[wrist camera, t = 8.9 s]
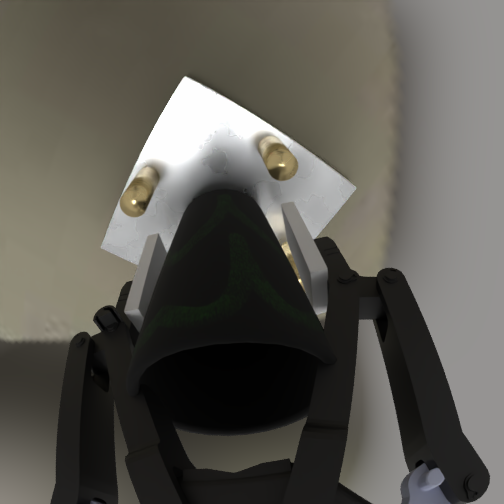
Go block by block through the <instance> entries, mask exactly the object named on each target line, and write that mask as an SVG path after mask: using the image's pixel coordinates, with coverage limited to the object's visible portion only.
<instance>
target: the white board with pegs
mask: <svg viewBox="0 0 504 504" xmlns="http://www.w3.org/2000/svg"><path fill="white" fill-rule="evenodd" d="M215 189H232V190H237V191H240V192H242V193H244V194H247V195H248V196H250V197H251V198H252V199H254V200H255V201H256V202H257V204H258V205H259V206H260V208H261V209H262V211H263V213H264V215H265V216H266V218H267V220H268V222H269V224H270V226H271V228H272V230H273V231H274V233H275V235H276V237H277V239H278V241H279V243H280V245H281V247H282V249H283V251H284V252H285V254H286V256H287V258H288V260H289V262H290V264H291V266H292V268H293V270H294V272H295V274H296V276H297V278H298V280H299V282H300V284H301V285H302V287H303V289H304V286H303V283H302V281H301V278H300V275H299V272H298V270H297V267H296V264H295V262H294V259H293V256H292V254H291V251H290V248H289V246H288V243H287V239H286V232H285V226H284V220H283V214H282V208H281V204H283V203H288V202H294V204H295V206H296V208H297V210H298V211H299V213H300V215H301V217H302V219H303V221H304V223H305V225H306V227H307V229H308V231H309V232H310V234H311V236H312V238H313V239H315V238H316V237H317V236H318V234H319V233H320V232H321V231H322V230H323V228H324V227H325V226H326V225H327V224H328V222H329V221H330V220H331V219H332V218H333V216H334V215H335V214H336V213H337V212H338V210H339V209H340V208H341V207H342V206H343V204H344V203H345V202H346V201H347V199H348V198H349V197H350V196H351V195H352V193H353V192H354V191H355V190H356V187H355V186H354V185H353V184H352V183H351V182H350V181H349V180H348V179H347V178H345V177H344V176H343V175H341V174H340V173H339V172H338V171H336V170H335V169H334V168H332V167H331V166H330V165H328V164H327V163H326V162H324V161H323V160H322V159H320V158H319V157H317V156H316V155H315V154H313V153H312V152H311V151H309V150H308V149H306V148H305V147H304V146H302V145H301V144H299V143H298V142H296V141H295V140H293V139H292V138H291V137H289V136H288V135H286V134H285V133H283V132H282V131H280V130H279V129H277V128H276V127H274V126H273V125H271V124H269V123H268V122H266V121H265V120H263V119H262V118H260V117H258V116H257V115H255V114H254V113H252V112H250V111H249V110H247V109H245V108H244V107H242V106H241V105H239V104H237V103H235V102H234V101H232V100H230V99H229V98H227V97H225V96H223V95H222V94H220V93H218V92H216V91H215V90H213V89H211V88H209V87H207V86H205V85H204V84H202V83H200V82H198V81H196V80H194V79H192V78H190V77H188V76H184V78H183V79H182V81H181V83H180V84H179V86H178V87H177V89H176V91H175V92H174V94H173V96H172V97H171V99H170V101H169V102H168V104H167V106H166V108H165V109H164V111H163V113H162V114H161V116H160V118H159V120H158V122H157V123H156V125H155V127H154V129H153V131H152V133H151V135H150V136H149V138H148V140H147V142H146V144H145V146H144V148H143V150H142V152H141V154H140V156H139V158H138V160H137V162H136V164H135V166H134V169H133V171H132V173H131V175H130V177H129V179H128V181H127V184H126V186H125V188H124V190H123V193H122V195H121V197H120V200H119V202H118V204H117V207H116V209H115V212H114V214H113V217H112V219H111V222H110V224H109V227H108V229H107V232H106V235H105V237H104V240H103V243H102V246H101V248H102V249H104V250H106V251H108V252H110V253H112V254H115V255H117V256H119V257H121V258H123V259H125V260H127V261H130V262H132V263H134V264H136V265H138V263H139V260H140V257H141V254H142V251H143V248H144V245H145V242H146V240H147V237H148V236H149V235H153V234H157V233H159V235H160V237H161V240H162V242H163V244H164V247H165V249H166V252H167V253H168V250H169V248H170V245H171V243H172V240H173V238H174V235H175V233H176V230H177V228H178V225H179V223H180V220H181V218H182V216H183V213H184V211H185V210H186V208H187V207H188V205H189V204H190V203H191V202H192V201H193V200H194V199H195V198H196V197H198V196H200V195H201V194H203V193H205V192H208V191H212V190H215ZM304 291H305V289H304Z"/></svg>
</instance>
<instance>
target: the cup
mask: <svg viewBox="0 0 504 504" xmlns="http://www.w3.org/2000/svg"><path fill="white" fill-rule="evenodd" d="M319 359H320V360H321V361H322V362H323V363H325V364H328V365H331V364H335V362H336V360H337V358H336V356H335V354H334V352H333V350H332V348H331V346H330V344H329V342H328V340H327V338H326V336H325V334H324V329H323V327H322V326H321V323H320V321H319V319H318V317H317V315H316V313H315V311H314V309H313V307H312V305H311V303H310V301H309V299H308V297H307V295H306V293H305V291H304V289H303V287H302V285H301V284H300V282H299V280H298V278H297V276H296V274H295V272H294V270H293V268H292V266H291V264H290V262H289V260H288V258H287V256H286V254H285V252H284V251H283V249H282V247H281V245H280V243H279V241H278V239H277V237H276V235H275V233H274V231H273V230H272V228H271V226H270V224H269V222H268V220H267V218H266V216H265V215H264V213H263V211H262V209H261V208H260V206H259V205H258V204H257V202H256V201H255V200H254V199H252V198H251V197H250V196H248V195H247V194H244V193H242V192H240V191H237V190H232V189H215V190H212V191H208V192H205V193H203V194H201V195H200V196H198V197H196V198H195V199H194V200H193V201H192V202H191V203H190V204H189V205H188V207H187V208H186V210H185V211H184V213H183V216H182V218H181V220H180V223H179V225H178V228H177V230H176V233H175V235H174V238H173V240H172V243H171V245H170V248H169V250H168V253H167V256H166V258H165V261H164V264H163V266H162V269H161V272H160V274H159V277H158V280H157V283H156V285H155V288H154V291H153V294H152V297H151V300H150V302H149V305H148V308H147V311H146V314H145V317H144V320H143V323H142V326H141V329H140V333H139V336H138V339H137V342H136V345H135V349H134V352H133V355H132V358H131V362H130V365H129V369H128V372H127V377H126V390H127V392H128V394H129V395H130V396H131V397H132V396H136V395H137V394H138V393H139V389H140V384H146V385H147V386H148V387H149V388H151V389H152V390H153V391H154V392H155V394H156V395H157V396H158V398H159V399H160V400H161V402H162V403H163V404H164V406H165V407H166V409H167V411H168V413H169V416H170V418H171V420H172V423H173V425H174V428H175V429H179V430H183V431H187V432H191V433H198V434H204V435H221V436H233V435H247V434H254V433H260V432H265V431H269V430H273V429H276V428H280V427H283V426H287V425H289V424H292V423H294V422H296V421H299V420H301V419H303V418H305V417H307V416H308V412H309V407H310V403H311V398H312V393H313V388H314V383H315V378H316V373H317V367H318V362H319Z"/></svg>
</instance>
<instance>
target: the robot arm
mask: <svg viewBox="0 0 504 504" xmlns="http://www.w3.org/2000/svg"><path fill="white" fill-rule="evenodd" d="M281 208H282V214H283V220H284V226H285V232H286V239H287V243H288V246H289V248H290V251H291V254H292V256H293V259H294V262H295V264H296V267H297V270H298V272H299V275H300V278H301V281H302V283H303V286H304V289H305V292H306V295H307V297H308V299H309V301H310V303H311V305H312V307H313V309H314V311H315V313H316V315H317V314H321V313H325V312H326V319H325V326H324V334H325V336H326V338H327V340H328V342H329V344H330V346H331V348H332V350H333V352H334V354H335V356H336V358H337V360H336V362H335V364H331V365H328V364H325V363H323V362H322V361H321V360H320V359H319V362H318V367H317V373H316V378H315V383H314V388H313V393H312V398H311V403H310V407H309V412H308V417H307V421H306V424H305V426H304V428H303V430H302V434H301V438H300V441H299V445H298V450H297V454H296V458H295V461H294V463H291V462H290V459H284V460H278V461H272V462H266V463H261V464H259V465H256V466H253V467H250V468H248V469H245V470H242V471H239V472H236V473H231V472H224V471H218V470H212V469H196V467H195V466H194V465H193V464H192V463H191V461H190V460H189V458H188V456H187V454H186V452H185V450H184V448H183V446H182V443H181V441H180V439H179V437H178V434H177V432H176V430H175V428H174V425H173V423H172V420H171V418H170V416H169V413H168V411H167V409H166V407H165V406H164V404H163V403H162V402H161V400H160V399H159V398H158V396H157V395H156V394H155V392H154V391H153V390H152V389H151V388H149V387H148V386H147V385H146V384H140V389H139V393H138V394H137V395H136V396H132V397H131V396H130V395H129V394H128V392H127V390H126V377H127V372H128V369H129V365H130V362H131V358H132V355H133V352H134V349H135V345H136V342H137V339H138V336H139V333H140V329H141V326H142V323H143V320H144V317H145V314H146V311H147V308H148V305H149V302H150V300H151V297H152V294H153V291H154V288H155V285H156V283H157V280H158V277H159V274H160V272H161V269H162V266H163V264H164V261H165V258H166V256H167V252H166V249H165V247H164V244H163V242H162V240H161V237H160V235H159V233H157V234H153V235H149V236H148V237H147V240H146V242H145V245H144V248H143V251H142V254H141V257H140V260H139V263H138V266H137V270H136V273H135V276H134V279H133V281H129V282H126V284H125V285H124V286H123V288H122V289H121V292H120V296H119V298H118V302H117V305H116V308H115V307H114V306H112V305H108V306H105V307H102V308H101V309H99V310H98V311H97V312H96V314H95V316H94V319H93V321H94V322H95V324H96V325H97V326H98V328H99V329H100V330H101V331H102V332H100V333H98V334H96V335H94V336H92V337H91V336H90V335H89V334H88V333H87V332H80V333H78V334H77V335H75V336H74V337H73V339H72V340H71V343H70V347H69V352H68V357H67V362H66V368H65V373H64V380H63V386H62V394H61V401H60V409H59V419H58V432H57V447H56V484H55V488H54V492H53V495H52V499H51V504H118V486H117V475H116V462H115V442H114V400H115V404H116V408H117V412H118V416H119V420H120V424H121V427H122V431H123V434H124V438H125V441H126V444H127V448H128V451H129V453H128V455H127V456H126V457H125V462H126V466H127V469H128V472H129V475H130V478H131V481H132V483H133V486H134V489H135V492H136V494H137V497H138V499H139V502H140V504H372V503H370V502H368V501H367V500H365V499H364V498H362V497H361V496H359V495H357V494H356V493H354V492H353V491H351V490H350V489H348V488H347V487H345V486H343V485H342V484H341V483H339V482H338V481H339V477H340V472H341V467H342V462H343V457H344V452H345V446H346V441H347V434H348V424H349V417H350V410H351V402H352V394H353V386H354V376H355V366H356V354H357V340H358V324H359V319H373V322H374V326H375V329H376V333H377V336H378V339H379V343H380V347H381V351H382V354H383V358H384V362H385V366H386V370H387V374H388V378H389V382H390V387H391V391H392V395H393V400H394V404H395V409H396V414H397V419H398V424H399V430H400V435H401V441H402V446H403V452H404V456H405V461H406V464H407V467H408V469H409V472H410V473H409V474H408V475H407V476H406V477H405V478H404V479H403V481H402V484H401V495H402V503H401V504H466V503H470V502H473V501H475V500H477V499H478V498H480V497H481V496H482V495H483V494H484V493H485V491H486V490H487V488H488V485H489V481H490V475H489V472H488V469H487V468H486V466H485V465H484V463H483V462H482V460H481V459H480V457H479V456H478V454H477V453H476V451H475V450H474V448H473V447H472V445H471V444H470V442H469V441H468V439H467V438H466V436H465V435H464V434H463V432H462V429H461V426H460V421H459V418H458V414H457V410H456V407H455V404H454V400H453V397H452V394H451V390H450V387H449V384H448V381H447V379H446V375H445V372H444V369H443V367H442V364H441V362H440V358H439V356H438V353H437V350H436V348H435V345H434V342H433V340H432V337H431V335H430V332H429V330H428V327H427V325H426V323H425V320H424V318H423V316H422V313H421V311H420V309H419V307H418V304H417V302H416V300H415V298H414V296H413V293H412V291H411V289H410V287H409V285H408V283H407V281H406V278H405V276H404V275H403V274H402V272H401V271H399V270H397V269H394V268H385V269H382V270H381V271H379V272H378V274H377V277H363V276H359V274H358V273H357V272H356V271H354V270H351V269H350V268H349V266H348V264H347V262H346V261H345V259H344V257H343V256H342V254H341V253H340V250H339V249H338V248H337V245H336V244H335V242H334V241H333V240H332V239H330V238H329V237H322V238H318V239H313V238H312V236H311V234H310V232H309V231H308V229H307V227H306V225H305V223H304V221H303V219H302V217H301V215H300V213H299V211H298V210H297V208H296V206H295V204H294V202H288V203H283V204H281Z"/></svg>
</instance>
